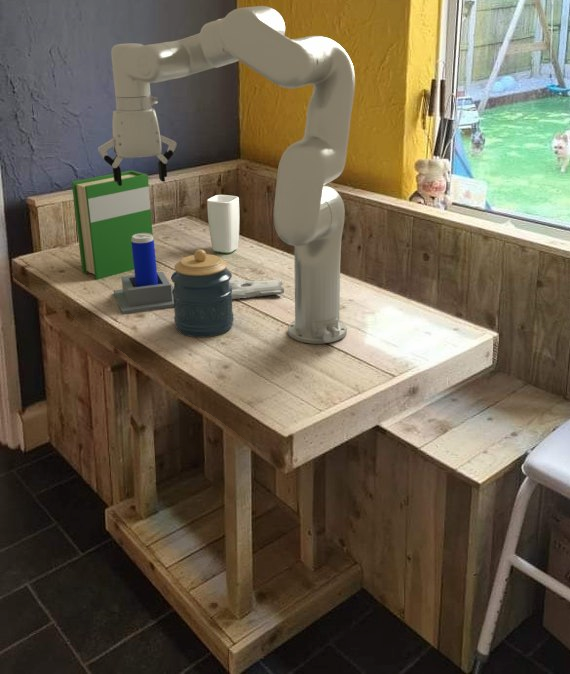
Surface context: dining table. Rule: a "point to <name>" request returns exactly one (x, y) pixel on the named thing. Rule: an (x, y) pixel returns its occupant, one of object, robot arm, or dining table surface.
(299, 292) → the robot arm
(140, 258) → the beverage can
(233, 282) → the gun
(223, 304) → the canister
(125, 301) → the holder
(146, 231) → the hardback book
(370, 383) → the dining table surface
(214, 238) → the cup
